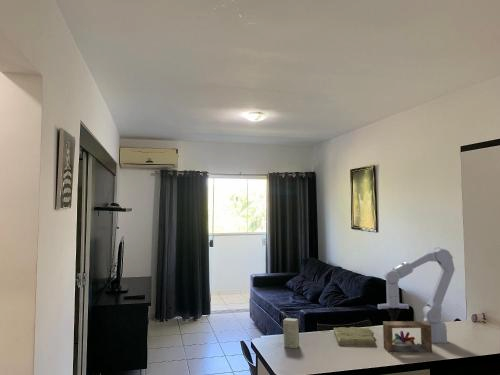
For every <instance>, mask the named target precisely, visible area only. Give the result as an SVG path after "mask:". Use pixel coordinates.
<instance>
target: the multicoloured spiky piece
mask: <svg viewBox="0 0 500 375" xmlns="http://www.w3.org/2000/svg"><path fill="white" fill-rule="evenodd" d="M399 333H400V335H399V334H398V333H397V332H396V333H394V337H395V338H394V339H393V344H416V343H415V340H416V338H415V337H414V336H411V337H410V331H407V332H406V333H405V334H404V331H403V330H400V332H399Z"/></svg>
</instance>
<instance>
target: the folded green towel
mask: <svg viewBox="0 0 500 375" xmlns="http://www.w3.org/2000/svg"><path fill="white" fill-rule="evenodd" d="M333 333H334V337H335V339H336V342H337V345H338V346H342V347H344V346H345V347H346V346H347V347H348V346H349V347H376V346H377V342H376V341H375V338H374V335H375V332H374V331H373V330H372V329H370V328H368V327H357V326H356V327H355V326H350V327H345V326H342V327H341V326H340V327H333Z"/></svg>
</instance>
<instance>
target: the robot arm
mask: <svg viewBox="0 0 500 375" xmlns="http://www.w3.org/2000/svg"><path fill="white" fill-rule="evenodd" d="M453 258H454V257H453V255H452V254H451V252H450V251H449V250H448V249H445V248H441V247H435V248H433V249H431V250H428V251H426V252H425V253H423V254H421V255H420V256H418V257H417V258H415V259H414V260H412V261H410V262H406V261H404V262H403V261H402V262H400V264H399V265H397V266H396V267H392V268H391V269H389V270H387V271H386V272H385V275H384V278H385V280H386V282H385V286H386V289H385V290H386V303H380V304H379V303H378V304H377V309H378V310H381V309H382V310H386V311H387V313H388V315H389V318H390V321H397V320H398V317H399V315H400V313H401V309H407V310H409V309H410V306H409V304H408V303H400V293H399V292H400V289H399V281H400V280H402V279H404V278H405V277H407V276H408V275H410V274H412V273H413V271H414V269H416V268H418V267H420V266H421V265H423V264H424V265H425V264H426V263H428V262H437V264H438V266H440V268H441V270H440V273H439V275H438V279H437V281H436V284H435V286H434V288H433V292H432V294H431V297H430V299H429V300H428V301H427V302H426V304H425V305H424V306H423V308H422V310H421V312H422V314H423V317H424V318H423V321H425V322H427V323H428V324H430V325H431V337H432V344H448V343H449V342H448V335H447V334H448V331H447V330H448V329H447V325H446V323H445V322H444V321H443V320H441V319H442V310H443V307H442V304H443V301H444V298H445V297H446V294H447V292H448V288H449V285H450V284H451V282H452V281H451V280H452V277H453V275H454V272H455V271H456V270H455V265H454V260H453Z"/></svg>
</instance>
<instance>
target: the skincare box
mask: <svg viewBox="0 0 500 375" xmlns="http://www.w3.org/2000/svg"><path fill="white" fill-rule="evenodd" d="M282 323H283V324H282V325H283V347H284V348H291V349H298V348H299V347H300V332H299V331H300V328H299V319H298V318H291V317H286V318H284V319H283V320H282Z"/></svg>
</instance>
